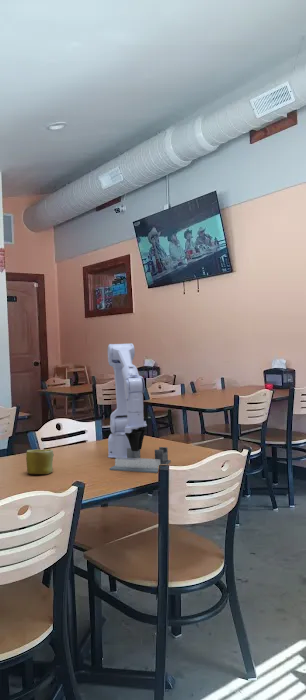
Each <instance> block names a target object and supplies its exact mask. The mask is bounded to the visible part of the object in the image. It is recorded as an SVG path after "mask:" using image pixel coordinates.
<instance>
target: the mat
mask: <svg viewBox="0 0 306 700" xmlns="http://www.w3.org/2000/svg"><path fill="white" fill-rule="evenodd" d="M109 471H122V472H137V473H151V474H152V473H154V474H158V473H159V472H158V470H152V469H135V468H118V467H115V465H113V466H111V467H110V468H109ZM157 472H158V473H157Z"/></svg>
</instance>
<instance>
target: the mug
mask: <svg viewBox="0 0 306 700" xmlns="http://www.w3.org/2000/svg"><path fill="white" fill-rule="evenodd" d="M54 454H55V453H54V449H51V448H48V449H27V450H26V456H25V457H26V472H27V474H28V475H48V474H51V473H52V472H53V461H54V456H55V455H54Z"/></svg>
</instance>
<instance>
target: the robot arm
mask: <svg viewBox="0 0 306 700" xmlns="http://www.w3.org/2000/svg"><path fill="white" fill-rule="evenodd" d="M135 349H136V348H135V346H134V344H133V343H131V342H130V343H109V344H108V346H107V362H108V366H110V367H112V370H113V373H114V383H115V384H114V385H115V400H116V408H115V410H114V411H112V412H111V414H110V416H109V417H110V418H109V419H110V421H109V427H110V428H109V429H110V432H111V433H110V434H109V436H108V438H107V445H108V446H107V448H108V449H107V451H108V455H107V458H112V459H113V458H114V459H116V458H118V457H126V458H127V448H131V450H132V451H138V449H140V450H142V448H143V447H142V446H143V442H144V438H145V434H146V433H147V428H144V427H147V426H148V424H147V421H146V420H145V419H144V393H145V389H146V388H145V387H146V386H145V380H144V377H143V376H142V375H140V374H139V373H140V372H139V370H138V368H137V366H136V365H135V364H133V362H134V361H133V360H134V357H135V353H136V351H135Z"/></svg>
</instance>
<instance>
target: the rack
mask: <svg viewBox="0 0 306 700" xmlns="http://www.w3.org/2000/svg"><path fill="white" fill-rule="evenodd" d="M168 450H169V449H168V447H166V446H165V447H164V446H163V447H162V446H159V448H158V449H154V459H160V464H167V465H169V464H170V463H172V461H171V460H170V459H169V457H168V456H169V454H168V452H169V451H168ZM127 458H141V449H138V451H132V450H131V448H127Z"/></svg>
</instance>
